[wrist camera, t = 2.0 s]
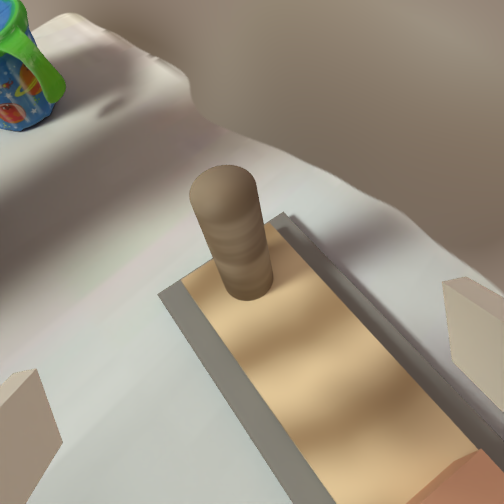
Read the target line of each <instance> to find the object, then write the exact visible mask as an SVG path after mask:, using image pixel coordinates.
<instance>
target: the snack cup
mask: <svg viewBox="0 0 504 504" xmlns="http://www.w3.org/2000/svg"><path fill="white" fill-rule="evenodd" d="M65 89H66V84H65V80H64V79H63V77H62V76H61V75H60V74H59V73H58V71H57V70H56V69H55V68H54V67H53V66H52V65H51V63H50V62H49V61H48V60H47V59H46V58H45V57H44V55H43V54H42V53H41V52H40V50H39V49H38V48H37V45H36V42H35V40H34V38H33V36H32V34H31V32H30V30H29V24H28V19H27V11H26V9H25V7H24V5H23V3H22V2H21V1H20V0H0V128H1V129H5V130H13V131H22V129H24V128H27V127H30V126H32V125H34V124H36V123H37V122H39V121H41V120H42V119H44V118H45V117H46V116H49V115H50V114H51V112H52V109H53V107H54V104H55V103H56V102H57V101H59V99H60V98H61V97H62V96H63V94H64V92H65Z"/></svg>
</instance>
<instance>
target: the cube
mask: <svg viewBox="0 0 504 504" xmlns="http://www.w3.org/2000/svg"><path fill="white" fill-rule="evenodd" d="M406 504H504V472H503V471H502V470H501V469H500V468H499V467H498V466H497V465H496V464H495V463H494V462H493V461H492V459H491V458H490V457H489V456H488V455H487V454H486V453H485V452H484V451H483V450H482V449H479V450H477V451H475V452H473V453H471V454H468V455H466V456H464V457H462V458H460V459H458V460H455V461H453V462H452V463H451V464H450V465H449V466H448V467H447V468H446V469H444V470H443V471H442V472H441V473H440V474H439V475H438V476H436V477H435V478H434V479H433V480H432V481H431V482H430V483H428V484H427V485H426V486H425V487H424V488H423V489H422V490H421V491H419V492H418V493H417V494H416V495H415V496H414V497H413V498H411V499H410V500H409V501H408V502H407V503H406Z"/></svg>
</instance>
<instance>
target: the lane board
mask: <svg viewBox="0 0 504 504" xmlns="http://www.w3.org/2000/svg"><path fill="white" fill-rule="evenodd" d="M267 223H268V222H267ZM267 223H266V224H267ZM269 223H270V224H271V225H272V226H273V227H274V228H275V229H276V230H277V231H278V232H279V233H280V235H281V236H282V237H283V238H284V239H285V240H286V241H287V242H288V243H289V244H290V245H291V247H292V248H293V249H294V250H295V251H296V252H297V253H298V254H299V255H300V256H301V257H302V258H303V260H304V261H305V262H306V263H307V264H308V265H309V266H310V267H311V268H312V269H313V270H314V272H315V273H316V274H317V275H318V276H319V277H320V278H321V279H322V280H323V281H324V282H325V283H326V285H327V286H328V287H329V288H330V289H331V290H332V291H333V292H334V293H335V294H336V295H337V297H338V298H339V299H340V300H341V301H342V302H343V303H344V304H345V305H346V306H347V307H348V308H349V310H350V311H351V312H352V313H353V314H354V315H355V316H356V317H357V318H358V319H359V320H360V322H361V323H362V324H363V325H364V326H365V327H366V328H367V329H368V330H369V331H370V332H371V333H372V335H373V336H374V337H375V338H376V339H377V340H378V341H379V342H380V343H381V344H382V345H383V347H384V348H385V349H386V350H387V351H388V352H389V353H390V354H391V355H392V356H393V357H394V358H395V360H396V361H397V362H398V363H399V364H400V365H401V366H402V367H403V368H404V369H405V370H406V372H407V373H408V374H409V375H410V376H411V377H412V378H413V379H414V380H415V381H416V382H417V383H418V385H419V386H420V387H421V388H422V389H423V390H424V391H425V392H426V393H427V394H428V395H429V396H430V398H431V399H432V400H433V401H434V402H435V403H436V404H437V405H438V406H439V407H440V408H441V410H442V411H443V412H444V413H445V414H446V415H447V416H448V417H449V418H450V419H451V420H452V421H453V423H454V424H455V425H456V426H457V427H458V428H459V429H460V430H461V431H462V432H463V433H464V435H465V436H466V437H467V438H468V439H469V440H470V441H471V442H472V443H473V444H474V445H475V446H476V448H477V449H478V450H479V449H482V450H483V451H484V452H485V453H486V454H487V455H488V456H489V457H490V458H491V459H492V461H493V462H494V463H495V464H496V465H497V466H498V467H499V468H500V469H501V470H502V471H503V472H504V441H503V440H502V439H501V437H500V436H499V435H498V434H497V433H496V432H495V431H494V430H493V429H492V428H491V427H490V426H489V425H488V424H487V423H486V422H485V421H484V420H483V419H482V418H481V417H480V416H479V415H478V414H477V413H476V411H475V410H474V409H473V408H472V407H471V406H470V405H469V404H468V403H467V402H466V401H465V400H464V399H463V398H462V397H461V396H460V395H459V394H458V393H457V392H456V391H455V390H454V389H453V388H452V387H451V385H450V384H449V383H448V382H447V381H446V380H445V379H444V378H443V377H442V376H441V375H440V374H439V373H438V372H437V371H436V370H435V369H434V368H433V367H432V366H431V365H430V364H429V363H428V362H427V361H426V359H425V358H424V357H423V356H422V355H421V354H420V353H419V352H418V351H417V350H416V349H415V348H414V347H413V346H412V345H411V344H410V343H409V342H408V341H407V340H406V339H405V338H404V337H403V336H402V335H401V334H400V332H399V331H398V330H397V329H396V328H395V327H394V326H393V325H392V324H391V323H390V322H389V321H388V320H387V319H386V318H385V317H384V316H383V315H382V314H381V313H380V312H379V311H378V310H377V309H376V308H375V306H374V305H373V304H372V303H371V302H370V301H369V300H368V299H367V298H366V297H365V296H364V295H363V294H362V293H361V292H360V291H359V290H358V289H357V288H356V287H355V286H354V285H353V284H352V283H351V282H350V280H349V279H348V278H347V277H346V276H345V275H344V274H343V273H342V272H341V271H340V270H339V269H338V268H337V267H336V266H335V265H334V264H333V263H332V262H331V261H330V260H329V259H328V258H327V257H326V256H325V254H324V253H323V252H322V251H321V250H320V249H319V248H318V247H317V246H316V245H315V244H314V243H313V242H312V241H311V240H310V239H309V238H308V237H307V236H306V235H305V234H304V233H303V232H302V231H301V230H300V228H299V227H298V226H297V225H296V224H295V223H294V222H293V221H292V220H291V219H290V218H289V217H288V216H287V215H286V214H285V213H284V212H282V213H281V214H279V215H278V216H276V217H275V218H273V219H272V220H270V221H269ZM264 225H265V224H264ZM212 259H213V258H212ZM212 259H211V260H212ZM211 260H209V261H211ZM209 261H208V262H209ZM206 263H207V262H206ZM206 263H205V264H206ZM203 265H204V264H203ZM203 265H202V266H203ZM200 267H201V266H200ZM200 267H198V268H200ZM198 268H197V269H198ZM197 269H195V270H197ZM195 270H194V271H195ZM194 271H192V272H194ZM192 272H191V273H192ZM191 273H189V274H191ZM189 274H188V275H189ZM188 275H186V276H188ZM186 276H185V277H186ZM185 277H183V278H185ZM183 278H182V279H183ZM182 279H180V280H179V281H177V282H176V283H174V284H173V285H171V286H169V287H168V288H166V289H165V290H163V291H162V292H160V293H159V294H157V295H158V296H159V298H160V299H161V301H162V302H163V304H164V305H165V307H166V309H167V310H168V312H169V313H170V315H171V316H172V318H173V319H174V321H175V322H176V324H177V325H178V327H179V329H180V330H181V332H182V333H183V335H184V336H185V338H186V339H187V341H188V342H189V344H190V345H191V347H192V349H193V350H194V352H195V353H196V355H197V356H198V358H199V359H200V361H201V362H202V364H203V366H204V367H205V369H206V370H207V372H208V373H209V375H210V376H211V378H212V379H213V381H214V382H215V384H216V386H217V387H218V389H219V390H220V392H221V393H222V395H223V396H224V398H225V399H226V401H227V402H228V404H229V406H230V407H231V409H232V410H233V412H234V413H235V415H236V416H237V418H238V419H239V421H240V422H241V424H242V426H243V427H244V429H245V430H246V432H247V433H248V435H249V436H250V438H251V439H252V441H253V442H254V444H255V446H256V447H257V449H258V450H259V452H260V453H261V455H262V456H263V458H264V459H265V461H266V462H267V464H268V466H269V467H270V469H271V470H272V472H273V473H274V475H275V476H276V478H277V479H278V481H279V482H280V484H281V486H282V487H283V489H284V490H285V492H286V493H287V495H288V496H289V498H290V499H291V501H292V502H293V504H336V503H335V501H334V500H333V498H332V497H331V495H330V494H329V493H328V491H327V490H326V488H325V487H324V485H323V484H322V483H321V481H320V480H319V478H318V477H317V475H316V474H315V473H314V471H313V470H312V468H311V467H310V465H309V464H308V462H307V461H306V460H305V458H304V457H303V455H302V454H301V452H300V451H299V450H298V448H297V447H296V445H295V444H294V442H293V441H292V440H291V438H290V437H289V435H288V434H287V432H286V431H285V430H284V428H283V427H282V425H281V424H280V422H279V421H278V420H277V418H276V417H275V415H274V414H273V412H272V411H271V410H270V408H269V407H268V405H267V404H266V402H265V401H264V400H263V398H262V397H261V395H260V394H259V392H258V391H257V390H256V388H255V387H254V385H253V384H252V382H251V381H250V380H249V378H248V377H247V375H246V374H245V372H244V371H243V370H242V368H241V367H240V365H239V364H238V362H237V361H236V360H235V358H234V357H233V355H232V354H231V352H230V351H229V350H228V348H227V347H226V345H225V344H224V342H223V341H222V340H221V338H220V337H219V335H218V334H217V332H216V331H215V329H214V328H213V327H212V325H211V324H210V322H209V321H208V319H207V318H206V317H205V315H204V314H203V312H202V311H201V309H200V308H199V307H198V305H197V304H196V302H195V301H194V299H193V298H192V297H191V295H190V294H189V292H188V291H187V289H186V288H185V286H184V285H183V283H182V281H181V280H182Z"/></svg>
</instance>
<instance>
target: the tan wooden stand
mask: <svg viewBox="0 0 504 504" xmlns="http://www.w3.org/2000/svg"><path fill="white" fill-rule="evenodd" d="M189 197H190V202H191V205H192V207H193V210H194V212H195V215H196V217H197V220H198V222H199V225H200V227H201V229H202V232H203V234H204V237H205V239H206V242H207V244H208V247H209V249H210V252H211V254H212V257H213V259H212V260H211V261H209V262H207V263H206V264H204V265H203V266H201V267H200V268H198V269H197V270H195V271H194V272H192V273H191V274H189V275H188V276H186V277H185V278H183V279H182V280H181V281H182V283H183V285H184V286H185V288H186V289H187V291H188V292H189V294H190V295H191V297H192V298H193V299H194V301H195V302H196V304H197V305H198V307H199V308H200V309H201V311H202V312H203V314H204V315H205V317H206V318H207V319H208V321H209V322H210V324H211V325H212V327H213V328H214V329H215V331H216V332H217V334H218V335H219V337H220V338H221V340H222V341H223V342H224V344H225V345H226V347H227V348H228V350H229V351H230V352H231V354H232V355H233V357H234V358H235V360H236V361H237V362H238V364H239V365H240V367H241V368H242V370H243V371H244V372H245V374H246V375H247V377H248V378H249V380H250V381H251V382H252V384H253V385H254V387H255V388H256V390H257V391H258V392H259V394H260V395H261V397H262V398H263V400H264V401H265V402H266V404H267V405H268V407H269V408H270V410H271V411H272V412H273V414H274V415H275V417H276V418H277V420H278V421H279V422H280V424H281V425H282V427H283V428H284V430H285V431H286V432H287V434H288V435H289V437H290V438H291V440H292V441H293V442H294V444H295V445H296V447H297V448H298V450H299V451H300V452H301V454H302V455H303V457H304V458H305V460H306V461H307V462H308V464H309V465H310V467H311V468H312V470H313V471H314V473H315V474H316V475H317V477H318V478H319V480H320V481H321V483H322V484H323V485H324V487H325V488H326V490H327V491H328V493H329V494H330V495H331V497H332V498H333V500H334V501H335V503H336V504H406V503H407V502H408V501H409V500H410V499H411V498H413V497H414V496H415V495H416V494H417V493H418V492H419V491H421V490H422V489H423V488H424V487H425V486H426V485H427V484H428V483H430V482H431V481H432V480H433V479H434V478H435V477H436V476H438V475H439V474H440V473H441V472H442V471H443V470H444V469H446V468H447V467H448V466H449V465H450V464H451V463H452V462H453V461H455V460H458V459H460V458H462V457H464V456H466V455H468V454H471V453H473V452H475V451H477V450H478V449H477V448H476V446H475V445H474V444H473V443H472V442H471V441H470V440H469V439H468V438H467V437H466V436H465V435H464V433H463V432H462V431H461V430H460V429H459V428H458V427H457V426H456V425H455V424H454V423H453V421H452V420H451V419H450V418H449V417H448V416H447V415H446V414H445V413H444V412H443V411H442V410H441V408H440V407H439V406H438V405H437V404H436V403H435V402H434V401H433V400H432V399H431V398H430V396H429V395H428V394H427V393H426V392H425V391H424V390H423V389H422V388H421V387H420V386H419V385H418V383H417V382H416V381H415V380H414V379H413V378H412V377H411V376H410V375H409V374H408V373H407V372H406V370H405V369H404V368H403V367H402V366H401V365H400V364H399V363H398V362H397V361H396V360H395V358H394V357H393V356H392V355H391V354H390V353H389V352H388V351H387V350H386V349H385V348H384V347H383V345H382V344H381V343H380V342H379V341H378V340H377V339H376V338H375V337H374V336H373V335H372V333H371V332H370V331H369V330H368V329H367V328H366V327H365V326H364V325H363V324H362V323H361V322H360V320H359V319H358V318H357V317H356V316H355V315H354V314H353V313H352V312H351V311H350V310H349V308H348V307H347V306H346V305H345V304H344V303H343V302H342V301H341V300H340V299H339V298H338V297H337V295H336V294H335V293H334V292H333V291H332V290H331V289H330V288H329V287H328V286H327V285H326V283H325V282H324V281H323V280H322V279H321V278H320V277H319V276H318V275H317V274H316V273H315V272H314V270H313V269H312V268H311V267H310V266H309V265H308V264H307V263H306V262H305V261H304V260H303V258H302V257H301V256H300V255H299V254H298V253H297V252H296V251H295V250H294V249H293V248H292V247H291V245H290V244H289V243H288V242H287V241H286V240H285V239H284V238H283V237H282V236H281V235H280V233H279V232H278V231H277V230H276V229H275V228H274V227H273V226H272V225H271V224H270V223H269V222H268V223H267V224H265V225H264V223H263V218H262V213H261V207H260V202H259V197H258V192H257V186H256V182H255V179H254V178H253V176H252V175H251V174H250V173H249V172H248V171H247V170H245V169H243V168H241V167H238V166H234V165H221V166H216V167H213V168H210V169H208V170H206V171H205V172H203V173H202V174H201V175H199V176H198V177H197V178H196V180H195V181H194V182H193V184H192V186H191V189H190V194H189Z"/></svg>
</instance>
